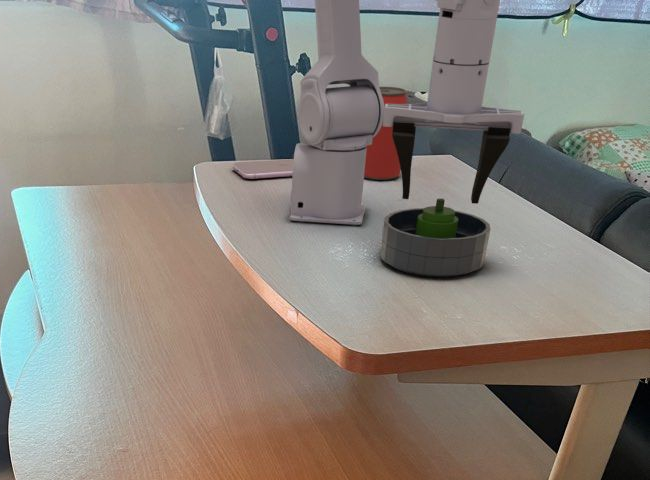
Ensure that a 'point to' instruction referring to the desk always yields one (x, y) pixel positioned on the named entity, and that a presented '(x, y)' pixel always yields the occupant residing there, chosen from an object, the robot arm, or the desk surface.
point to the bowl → (434, 245)
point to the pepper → (437, 221)
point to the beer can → (384, 143)
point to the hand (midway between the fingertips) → (439, 198)
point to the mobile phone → (265, 169)
